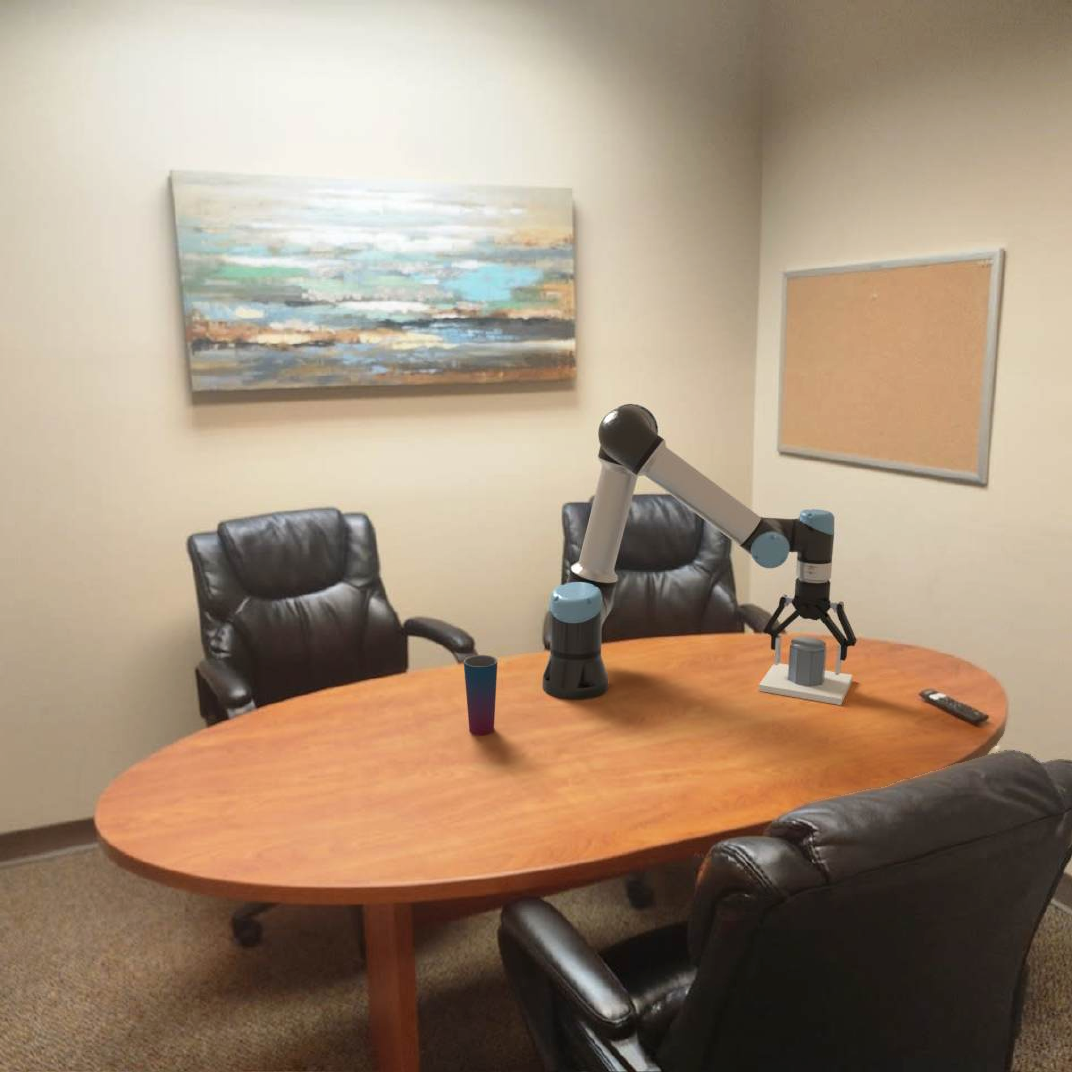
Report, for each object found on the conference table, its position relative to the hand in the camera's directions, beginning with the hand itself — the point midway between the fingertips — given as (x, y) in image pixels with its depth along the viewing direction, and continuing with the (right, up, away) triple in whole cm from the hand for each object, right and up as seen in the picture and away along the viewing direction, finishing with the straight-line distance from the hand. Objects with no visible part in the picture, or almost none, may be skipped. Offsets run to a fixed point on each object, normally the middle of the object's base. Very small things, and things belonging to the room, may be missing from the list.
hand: (807, 668), depth 203 cm
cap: (0, -3, +1) cm, 3 cm away
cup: (-73, -9, -22) cm, 77 cm away
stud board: (0, -4, +1) cm, 4 cm away
